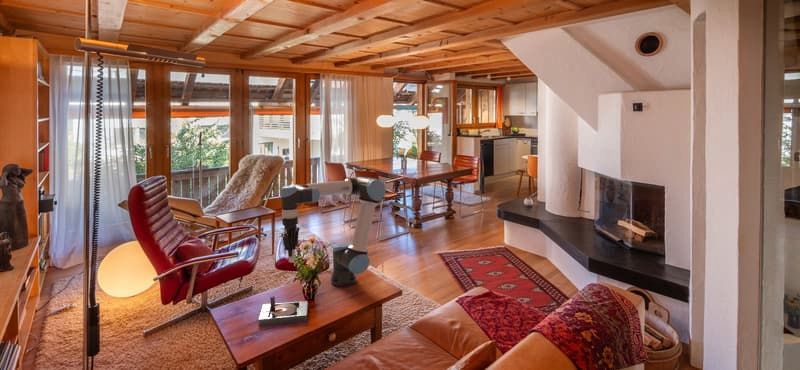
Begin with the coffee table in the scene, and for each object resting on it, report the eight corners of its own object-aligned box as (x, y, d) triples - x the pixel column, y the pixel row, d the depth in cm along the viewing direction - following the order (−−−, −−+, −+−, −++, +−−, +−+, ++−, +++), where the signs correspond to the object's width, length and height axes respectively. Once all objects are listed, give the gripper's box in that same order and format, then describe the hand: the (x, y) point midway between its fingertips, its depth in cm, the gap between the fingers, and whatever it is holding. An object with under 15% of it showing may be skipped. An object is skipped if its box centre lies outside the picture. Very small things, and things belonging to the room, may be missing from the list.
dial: (295, 305, 212) (294, 289, 211) (297, 316, 201) (297, 299, 200) (270, 309, 208) (269, 292, 207) (271, 320, 197) (270, 302, 196)
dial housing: (307, 307, 215) (307, 300, 214) (306, 321, 199) (306, 314, 199) (263, 310, 211) (263, 303, 210) (258, 326, 195) (258, 318, 195)
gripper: (291, 213, 214) (292, 257, 218) (275, 219, 202) (278, 265, 206) (303, 214, 212) (305, 258, 216) (288, 220, 200) (290, 267, 204)
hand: (291, 261), depth 211 cm, fingers closed
